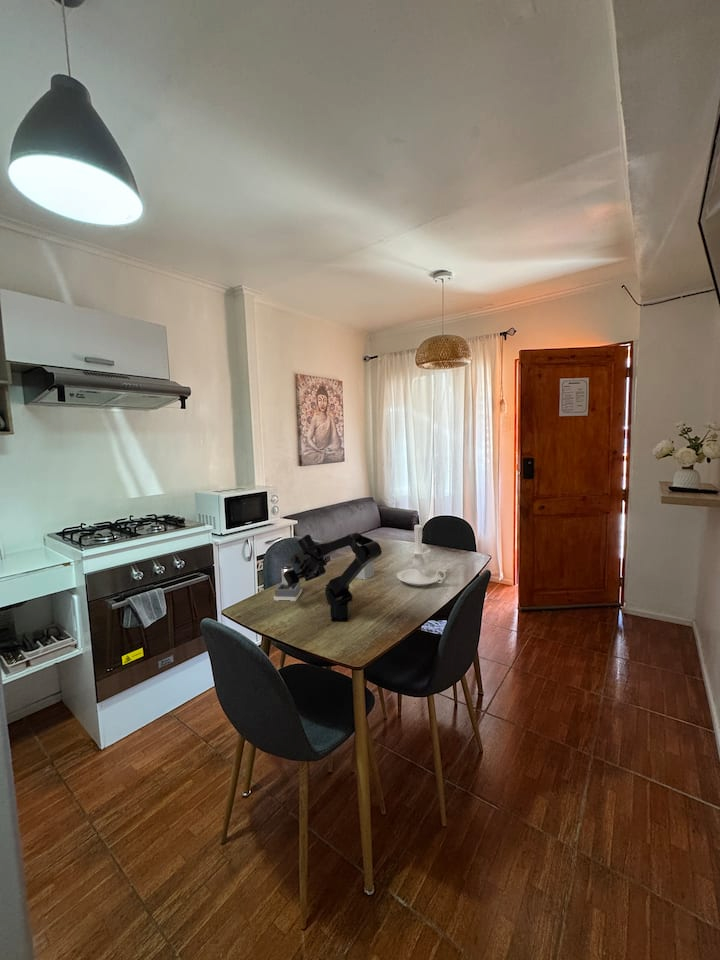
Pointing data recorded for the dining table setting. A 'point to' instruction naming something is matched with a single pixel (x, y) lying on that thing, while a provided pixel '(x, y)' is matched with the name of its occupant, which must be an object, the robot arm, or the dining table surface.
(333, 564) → the dining table surface
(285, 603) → the dining table surface
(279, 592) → the holder
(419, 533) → the candlestick
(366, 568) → the small box
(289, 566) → the black-capped silver cylinder
